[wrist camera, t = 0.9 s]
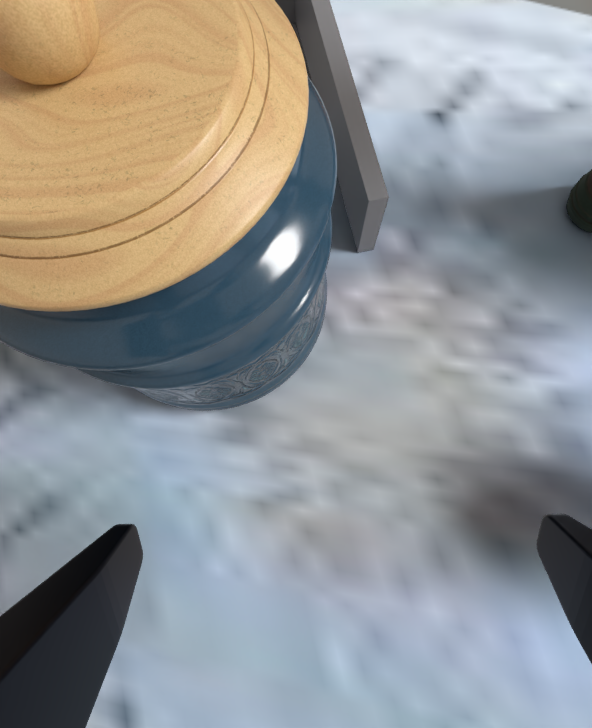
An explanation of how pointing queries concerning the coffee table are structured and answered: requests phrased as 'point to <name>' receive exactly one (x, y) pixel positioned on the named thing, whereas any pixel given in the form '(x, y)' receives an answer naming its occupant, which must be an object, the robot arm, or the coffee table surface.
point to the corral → (342, 117)
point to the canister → (163, 194)
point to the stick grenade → (581, 203)
